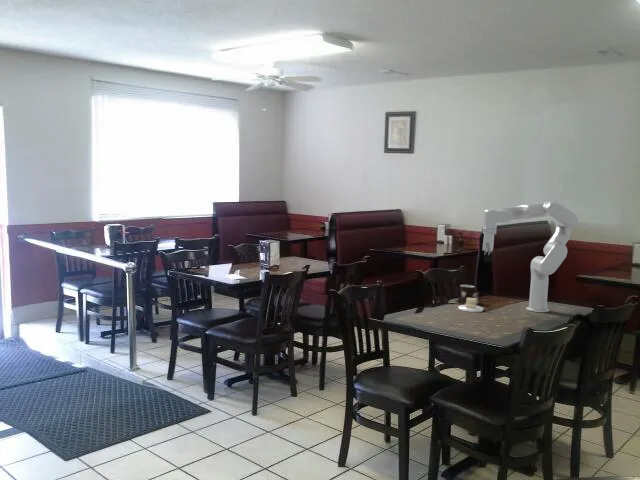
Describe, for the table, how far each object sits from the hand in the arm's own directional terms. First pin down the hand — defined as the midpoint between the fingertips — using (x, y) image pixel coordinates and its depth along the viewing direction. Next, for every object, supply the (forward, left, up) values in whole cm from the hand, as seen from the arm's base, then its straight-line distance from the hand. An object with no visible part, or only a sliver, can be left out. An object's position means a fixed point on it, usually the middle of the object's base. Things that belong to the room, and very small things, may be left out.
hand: (487, 260), depth 334 cm
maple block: (+6, -7, -27) cm, 29 cm away
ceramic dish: (+6, -7, -28) cm, 30 cm away
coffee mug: (-14, -12, -28) cm, 34 cm away
